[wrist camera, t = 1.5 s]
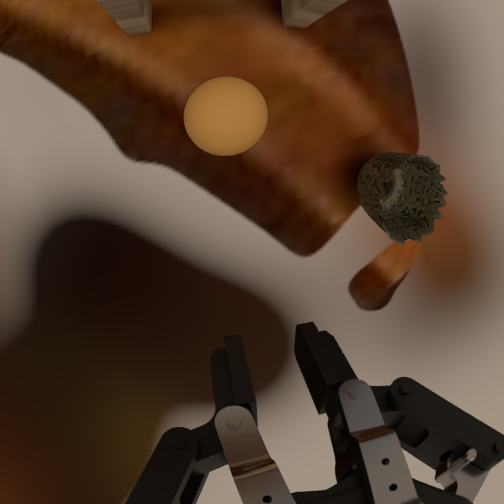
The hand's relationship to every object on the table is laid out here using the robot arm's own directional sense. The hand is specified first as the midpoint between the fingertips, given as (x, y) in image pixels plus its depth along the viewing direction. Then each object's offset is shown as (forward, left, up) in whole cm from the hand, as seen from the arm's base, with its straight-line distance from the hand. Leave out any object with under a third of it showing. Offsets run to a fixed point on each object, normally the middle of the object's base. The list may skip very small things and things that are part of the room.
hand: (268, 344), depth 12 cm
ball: (-10, 0, -12) cm, 15 cm away
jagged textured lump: (-4, +14, -15) cm, 21 cm away
